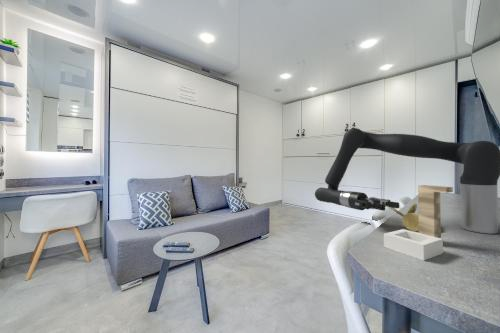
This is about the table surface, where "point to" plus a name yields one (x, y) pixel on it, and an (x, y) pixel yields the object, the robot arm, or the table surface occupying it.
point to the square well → (413, 244)
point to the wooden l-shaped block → (430, 209)
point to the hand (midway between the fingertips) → (392, 206)
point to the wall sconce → (409, 218)
